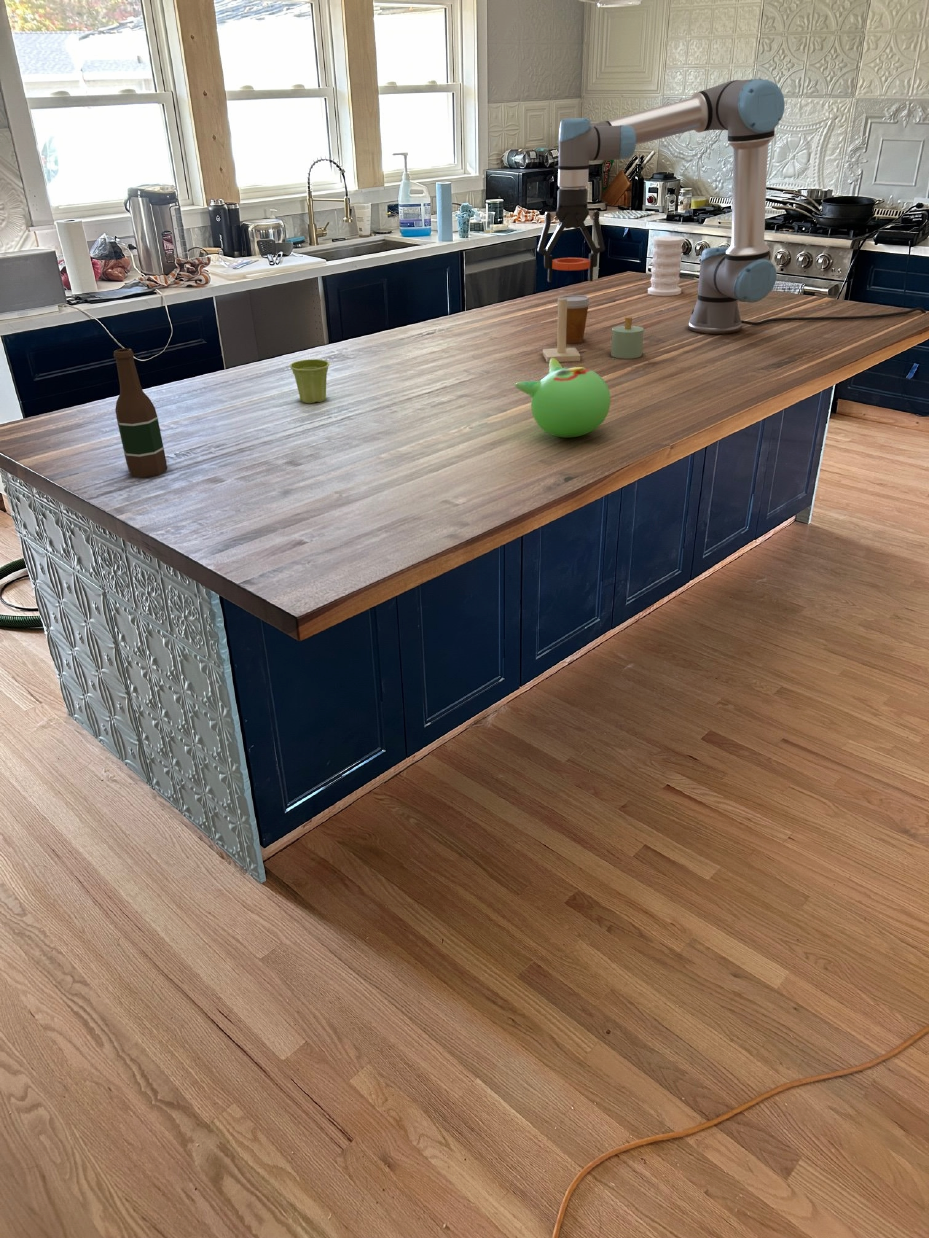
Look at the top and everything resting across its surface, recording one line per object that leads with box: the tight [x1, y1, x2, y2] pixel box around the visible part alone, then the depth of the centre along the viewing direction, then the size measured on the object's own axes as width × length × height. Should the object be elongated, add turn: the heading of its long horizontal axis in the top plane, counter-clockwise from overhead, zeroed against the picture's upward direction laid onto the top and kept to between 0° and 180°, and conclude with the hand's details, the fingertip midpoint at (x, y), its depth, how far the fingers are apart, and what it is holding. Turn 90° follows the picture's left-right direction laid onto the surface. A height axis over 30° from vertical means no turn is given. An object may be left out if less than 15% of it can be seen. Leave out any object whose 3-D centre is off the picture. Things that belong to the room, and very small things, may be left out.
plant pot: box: [289, 358, 330, 404], centre depth 222 cm, size 9×9×9 cm
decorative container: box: [647, 235, 685, 297], centre depth 322 cm, size 12×12×18 cm
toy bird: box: [514, 358, 611, 439], centre depth 193 cm, size 18×17×15 cm
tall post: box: [542, 297, 581, 364], centre depth 249 cm, size 9×9×16 cm
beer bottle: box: [113, 347, 168, 479], centre depth 178 cm, size 8×8×24 cm
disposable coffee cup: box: [556, 294, 591, 344], centre depth 266 cm, size 10×10×12 cm
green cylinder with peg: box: [610, 316, 645, 360], centre depth 251 cm, size 8×8×10 cm
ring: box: [552, 257, 590, 271], centre depth 240 cm, size 10×10×2 cm
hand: (570, 281), depth 243 cm, fingers closed on ring, 10 cm apart
